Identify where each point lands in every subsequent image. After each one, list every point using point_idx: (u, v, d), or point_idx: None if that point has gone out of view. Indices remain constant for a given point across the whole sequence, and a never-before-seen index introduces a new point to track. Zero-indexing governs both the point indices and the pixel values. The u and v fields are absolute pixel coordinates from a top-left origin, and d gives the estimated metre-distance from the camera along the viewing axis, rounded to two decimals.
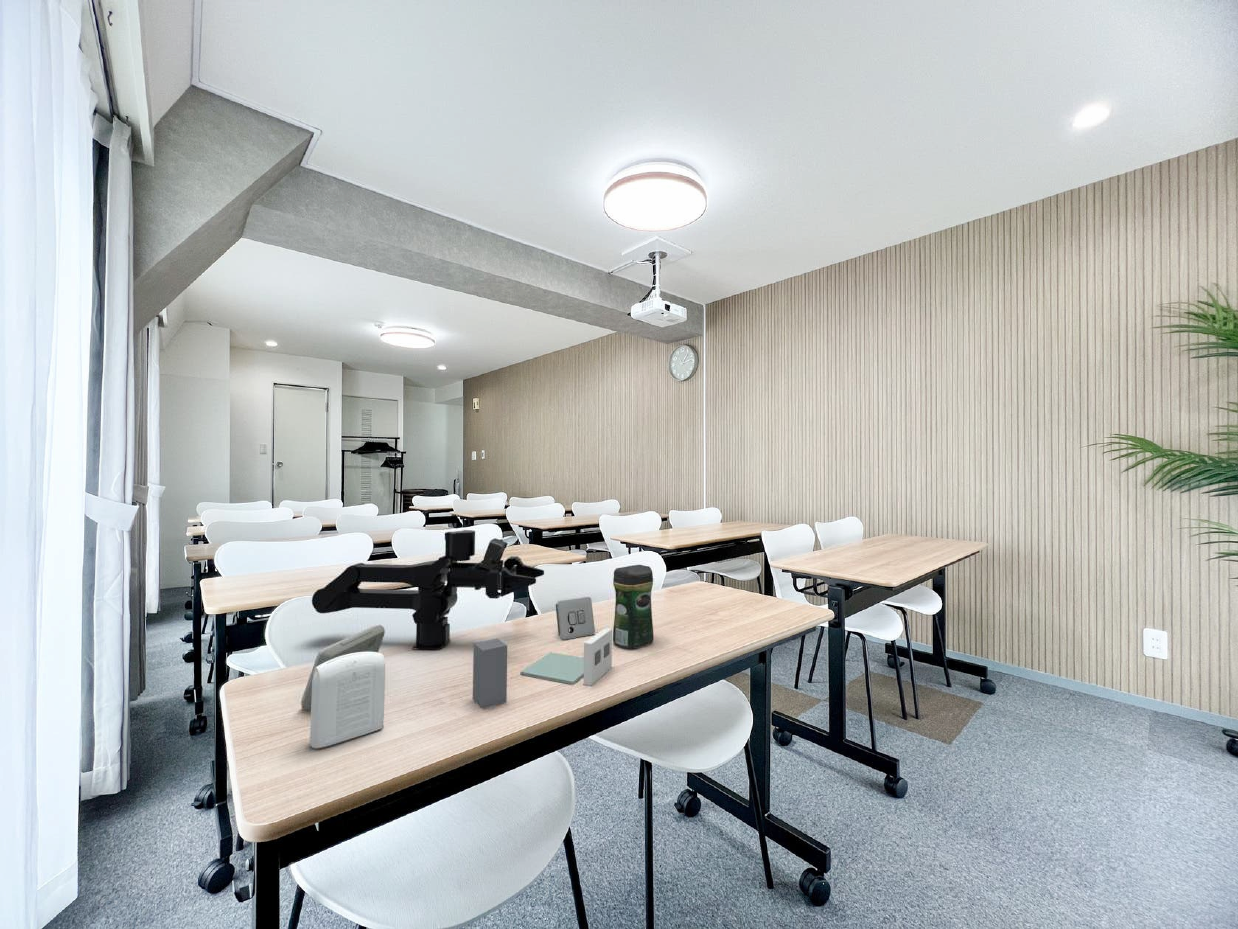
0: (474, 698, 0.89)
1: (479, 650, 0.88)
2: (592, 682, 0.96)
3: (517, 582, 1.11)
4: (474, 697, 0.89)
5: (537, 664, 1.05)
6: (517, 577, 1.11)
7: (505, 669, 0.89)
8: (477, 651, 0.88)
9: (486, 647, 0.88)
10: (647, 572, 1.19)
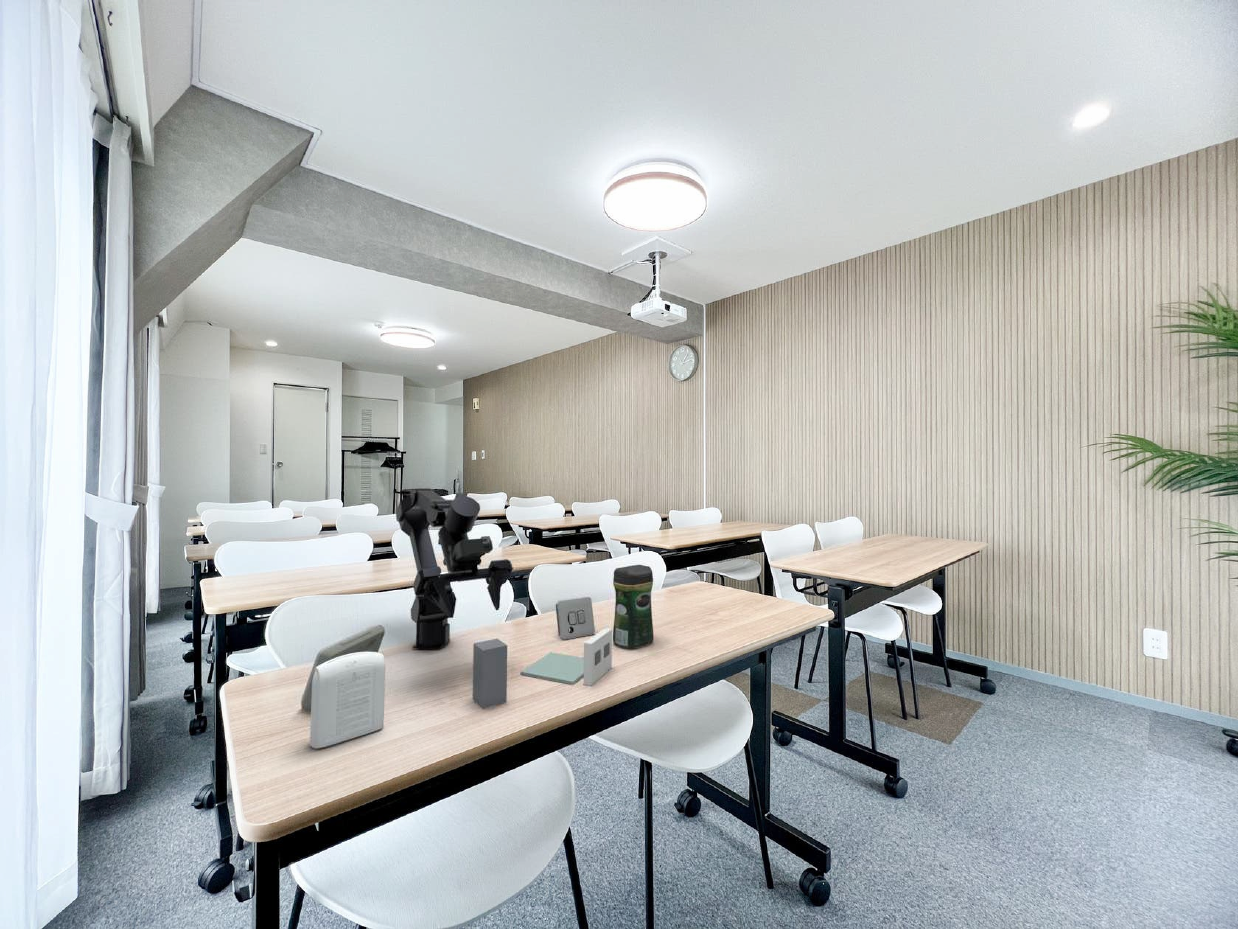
0: (474, 698, 0.89)
1: (479, 650, 0.88)
2: (592, 682, 0.96)
3: (440, 600, 0.95)
4: (474, 697, 0.89)
5: (537, 664, 1.05)
6: (441, 597, 0.94)
7: (505, 669, 0.89)
8: (476, 651, 0.88)
9: (486, 647, 0.88)
10: (647, 572, 1.19)
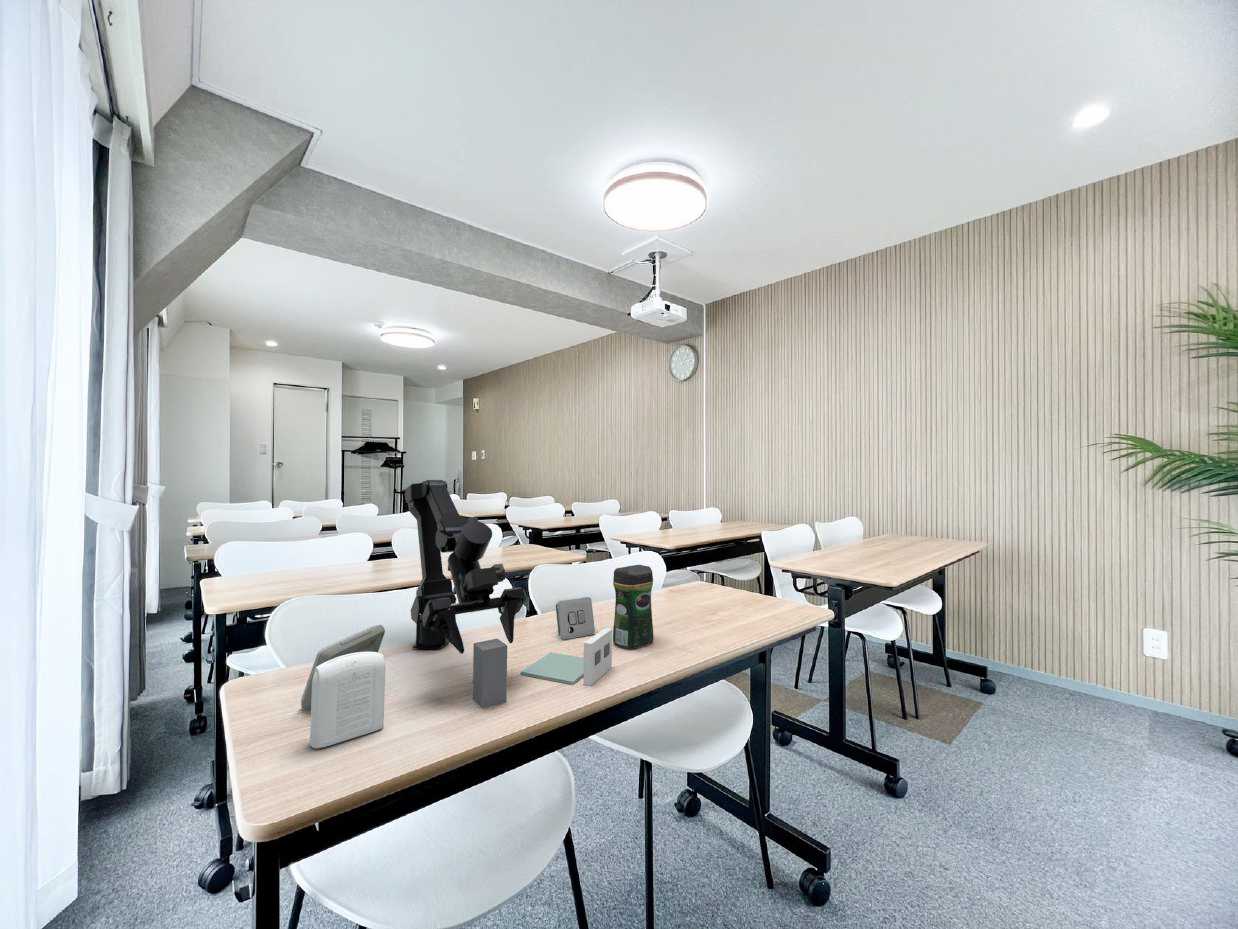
0: (474, 698, 0.89)
1: (479, 650, 0.87)
2: (592, 682, 0.96)
3: (450, 634, 0.89)
4: (474, 697, 0.89)
5: (537, 664, 1.05)
6: (451, 631, 0.88)
7: (505, 669, 0.89)
8: (476, 651, 0.88)
9: (486, 647, 0.88)
10: (647, 572, 1.19)
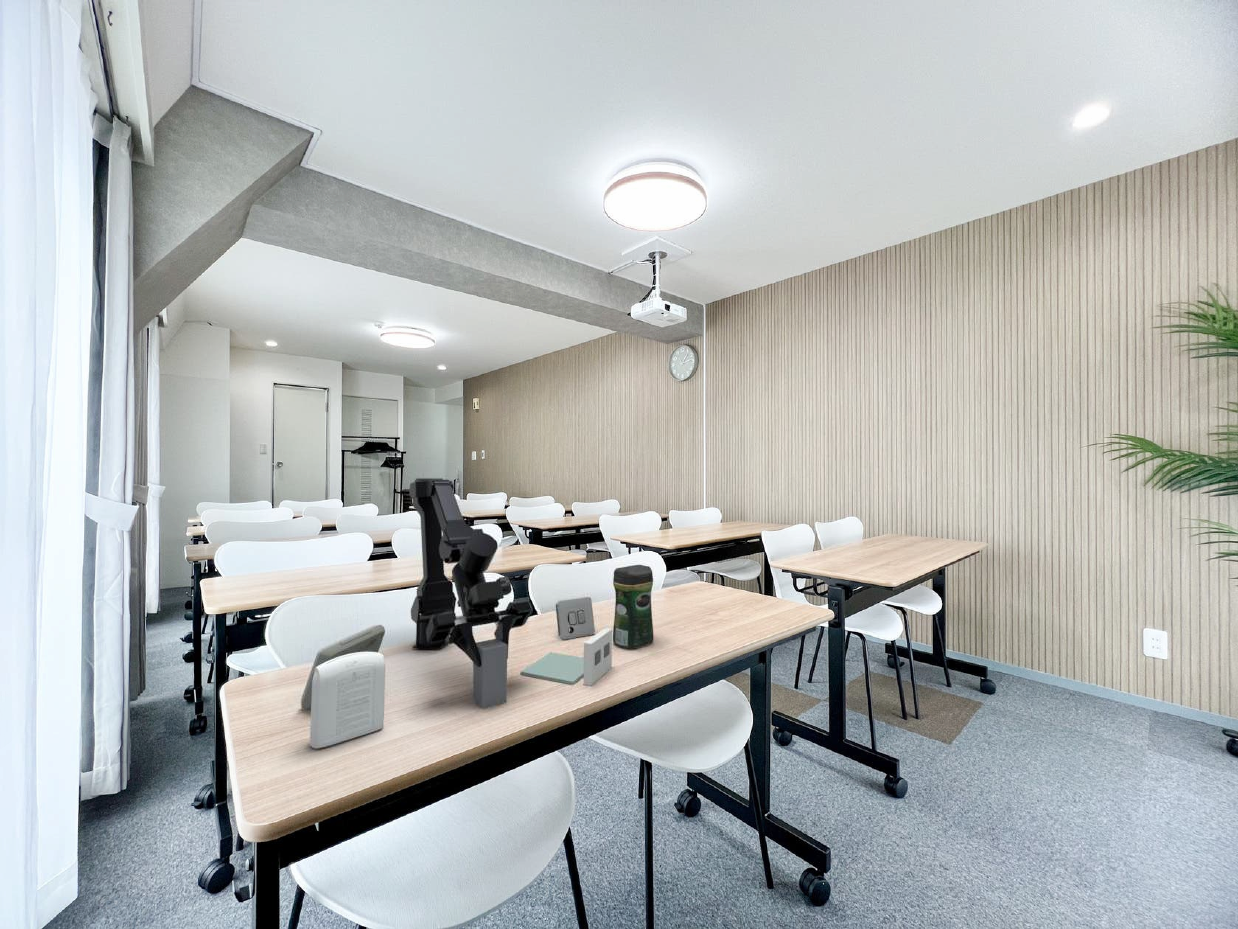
0: (474, 698, 0.89)
1: (479, 650, 0.88)
2: (592, 682, 0.96)
3: (467, 647, 0.88)
4: (474, 697, 0.89)
5: (537, 664, 1.05)
6: (468, 644, 0.88)
7: (505, 669, 0.89)
8: None
9: (486, 647, 0.88)
10: (647, 572, 1.19)
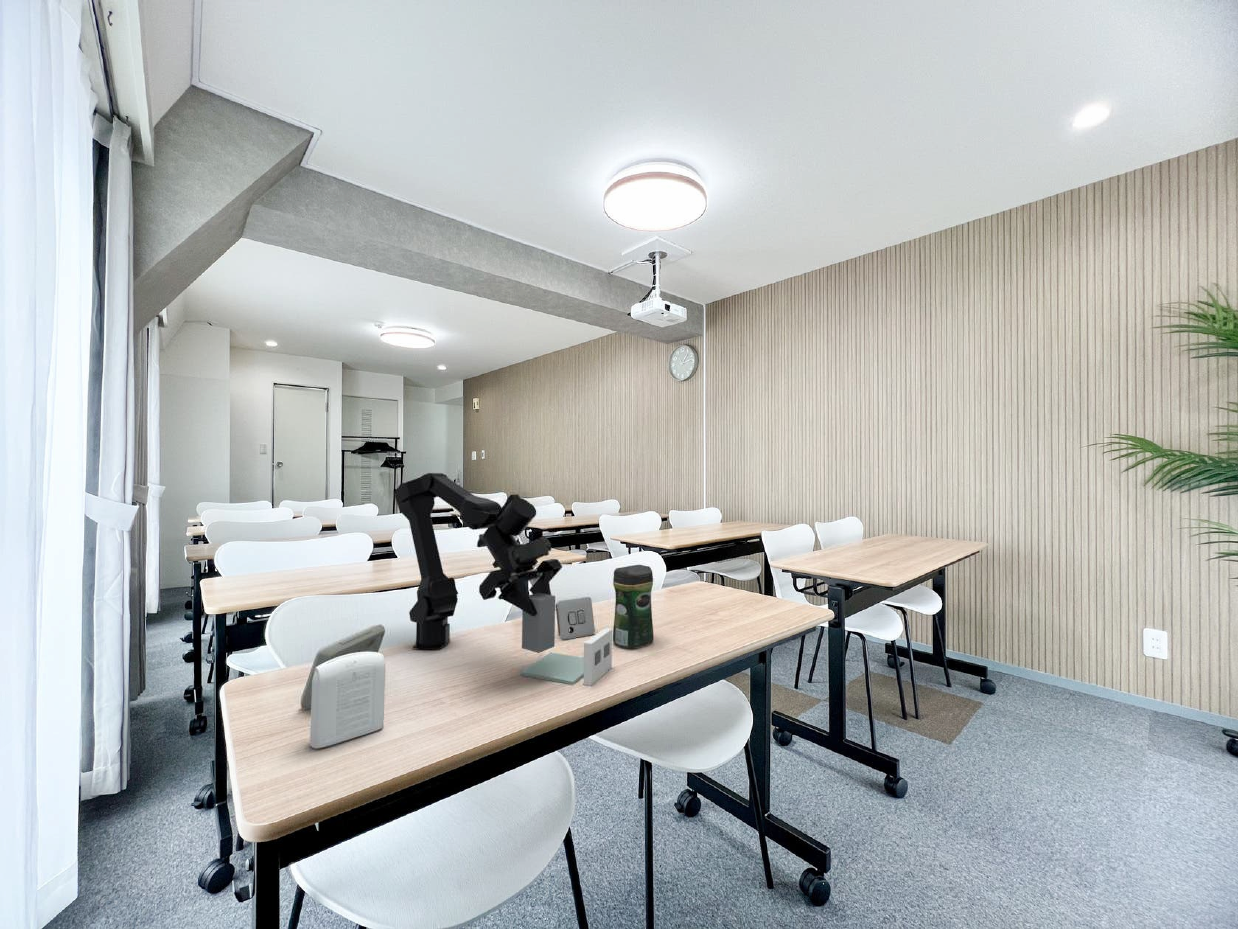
0: (525, 646, 0.97)
1: (533, 601, 0.96)
2: (592, 682, 0.96)
3: (520, 600, 0.97)
4: (525, 646, 0.97)
5: (537, 664, 1.05)
6: (523, 597, 0.96)
7: (554, 617, 0.99)
8: None
9: (539, 598, 0.97)
10: (647, 572, 1.19)
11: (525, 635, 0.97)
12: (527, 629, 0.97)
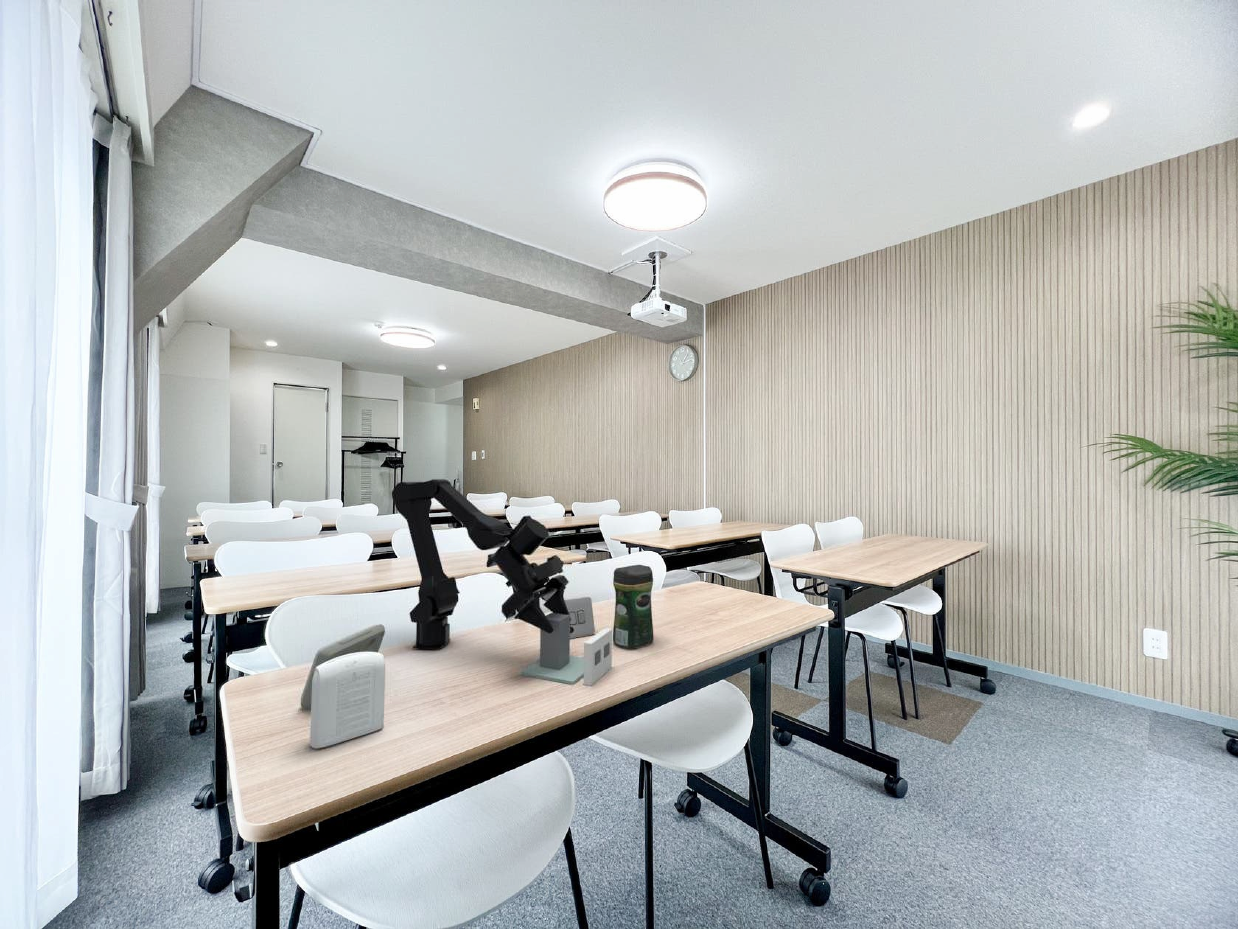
0: (543, 665, 1.03)
1: (552, 622, 1.02)
2: (592, 682, 0.96)
3: (536, 619, 1.01)
4: (543, 664, 1.03)
5: (537, 664, 1.05)
6: (540, 615, 1.00)
7: (569, 635, 1.05)
8: None
9: (557, 618, 1.03)
10: (647, 572, 1.19)
11: (543, 654, 1.03)
12: (546, 648, 1.03)
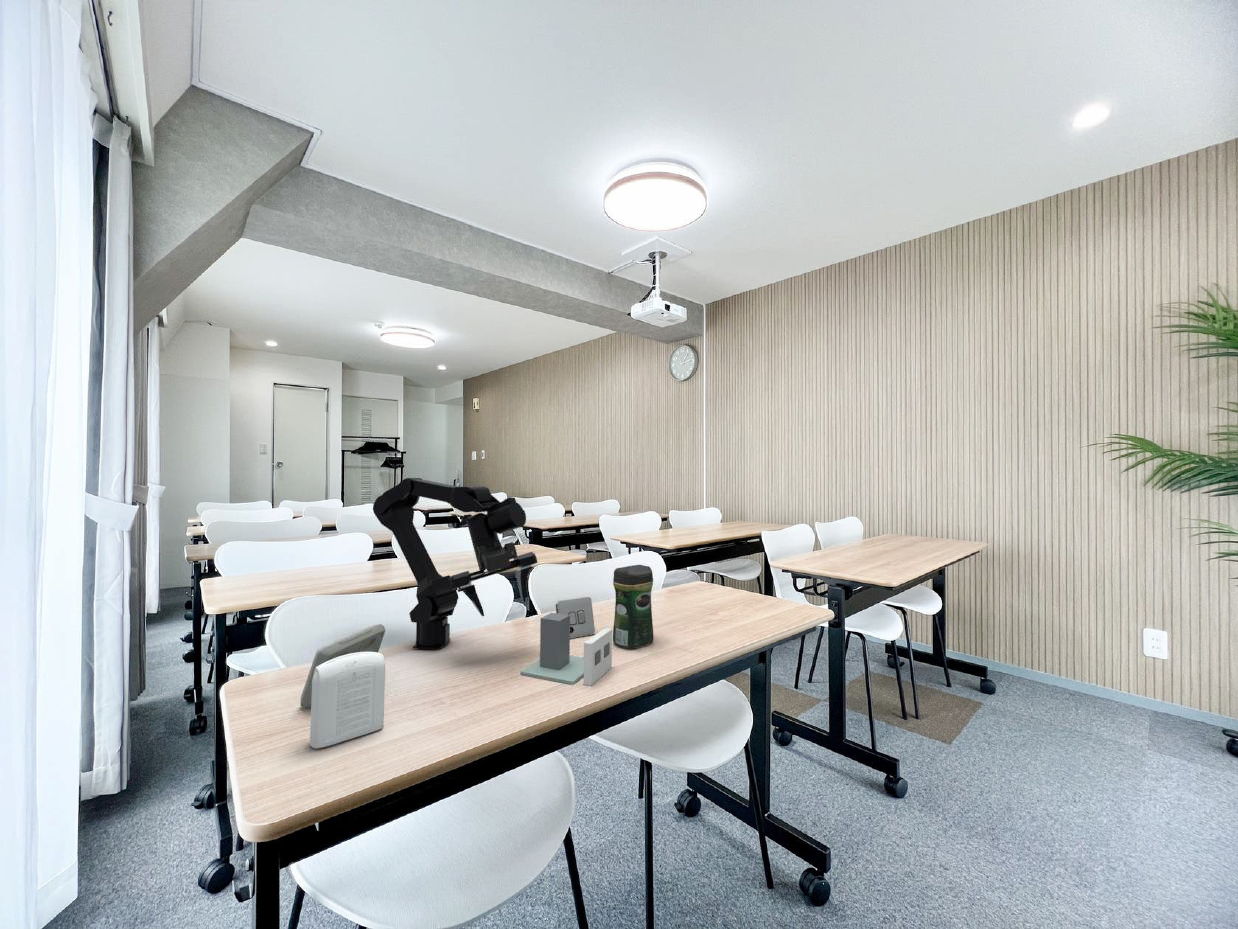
0: (543, 665, 1.03)
1: (552, 622, 1.02)
2: (592, 682, 0.96)
3: (472, 600, 1.07)
4: (543, 664, 1.03)
5: (537, 664, 1.05)
6: (473, 600, 1.06)
7: (569, 635, 1.05)
8: (547, 624, 1.03)
9: (557, 618, 1.03)
10: (647, 572, 1.19)
11: (543, 654, 1.03)
12: (546, 648, 1.03)
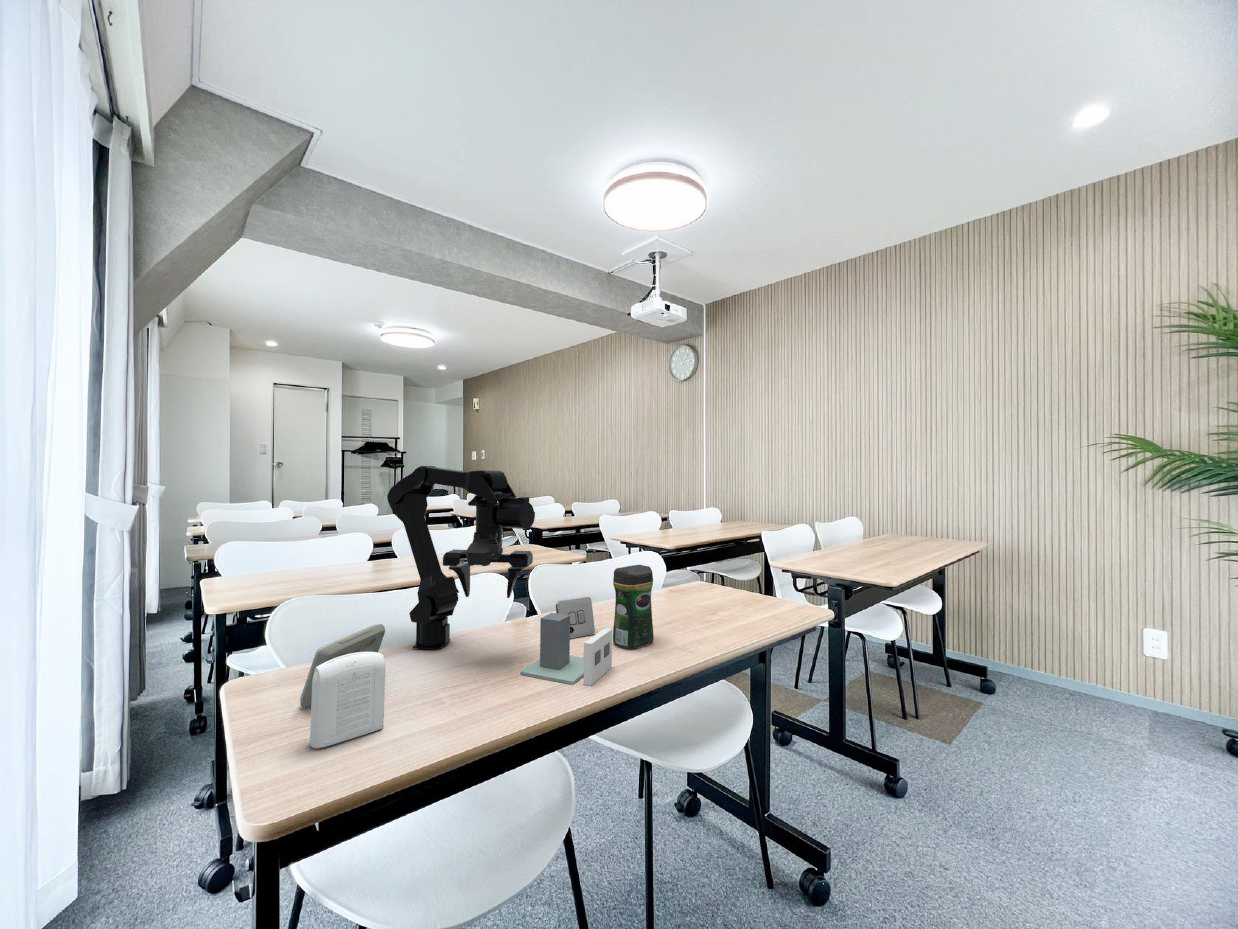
0: (543, 665, 1.03)
1: (552, 622, 1.02)
2: (592, 682, 0.96)
3: None
4: (543, 664, 1.03)
5: (537, 664, 1.05)
6: None
7: (569, 635, 1.05)
8: (547, 624, 1.03)
9: (557, 618, 1.03)
10: (647, 572, 1.19)
11: (543, 654, 1.03)
12: (546, 648, 1.03)
